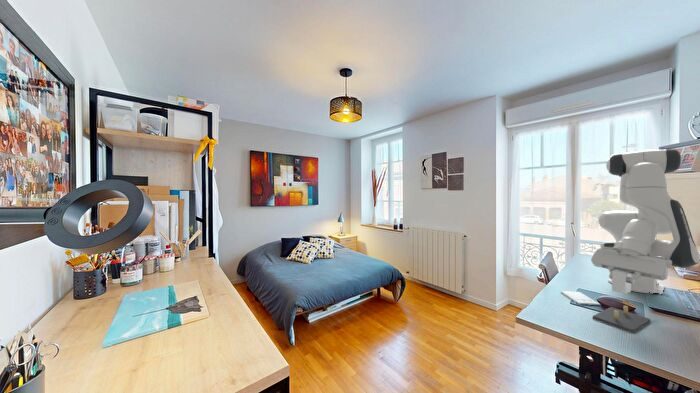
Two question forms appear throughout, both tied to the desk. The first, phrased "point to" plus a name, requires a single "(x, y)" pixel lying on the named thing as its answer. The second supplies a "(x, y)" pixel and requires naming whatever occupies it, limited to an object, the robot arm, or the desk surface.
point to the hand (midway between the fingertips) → (620, 280)
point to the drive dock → (622, 319)
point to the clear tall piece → (621, 281)
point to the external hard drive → (579, 298)
